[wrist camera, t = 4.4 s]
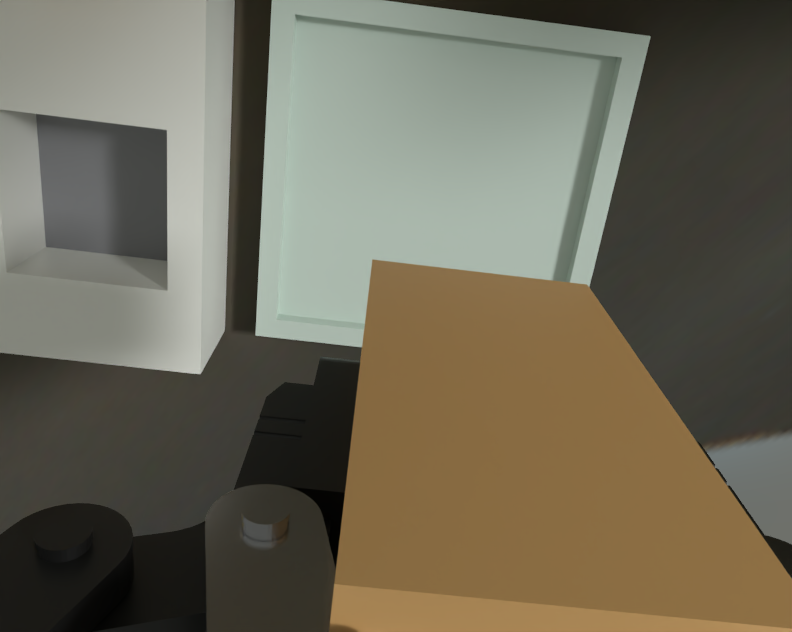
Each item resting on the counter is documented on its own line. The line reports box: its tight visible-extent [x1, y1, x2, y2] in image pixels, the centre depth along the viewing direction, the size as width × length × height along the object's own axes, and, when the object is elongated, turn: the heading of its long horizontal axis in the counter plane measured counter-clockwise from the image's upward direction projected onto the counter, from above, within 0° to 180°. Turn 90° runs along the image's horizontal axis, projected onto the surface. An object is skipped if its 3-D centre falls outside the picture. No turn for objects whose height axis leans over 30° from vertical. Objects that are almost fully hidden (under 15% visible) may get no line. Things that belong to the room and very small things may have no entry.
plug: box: [329, 259, 792, 632], centre depth 10 cm, size 4×4×8 cm
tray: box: [255, 0, 651, 347], centre depth 27 cm, size 13×13×1 cm
